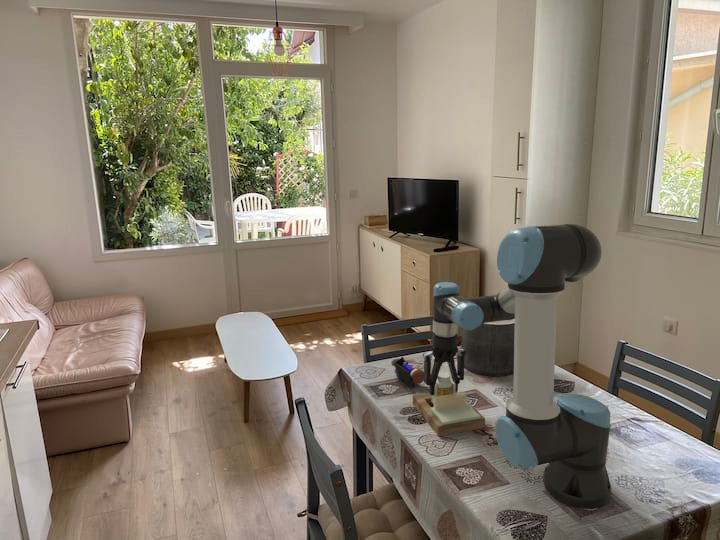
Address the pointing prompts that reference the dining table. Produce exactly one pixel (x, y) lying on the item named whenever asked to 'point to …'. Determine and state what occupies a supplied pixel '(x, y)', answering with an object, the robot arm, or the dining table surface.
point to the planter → (490, 348)
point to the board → (423, 407)
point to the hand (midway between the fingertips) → (443, 402)
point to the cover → (453, 409)
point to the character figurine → (407, 372)
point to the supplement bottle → (444, 384)
